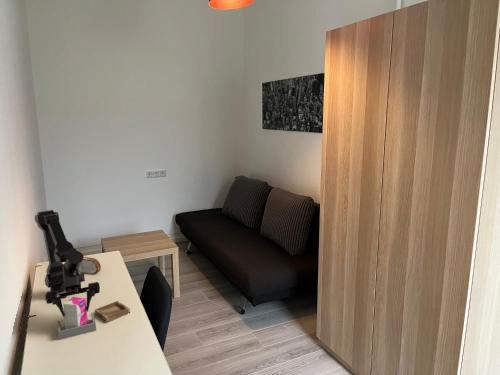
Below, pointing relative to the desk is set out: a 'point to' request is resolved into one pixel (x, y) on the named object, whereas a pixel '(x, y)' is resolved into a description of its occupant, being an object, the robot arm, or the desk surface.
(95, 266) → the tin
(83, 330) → the stall
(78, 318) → the supplement box
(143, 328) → the desk surface
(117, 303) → the tray
